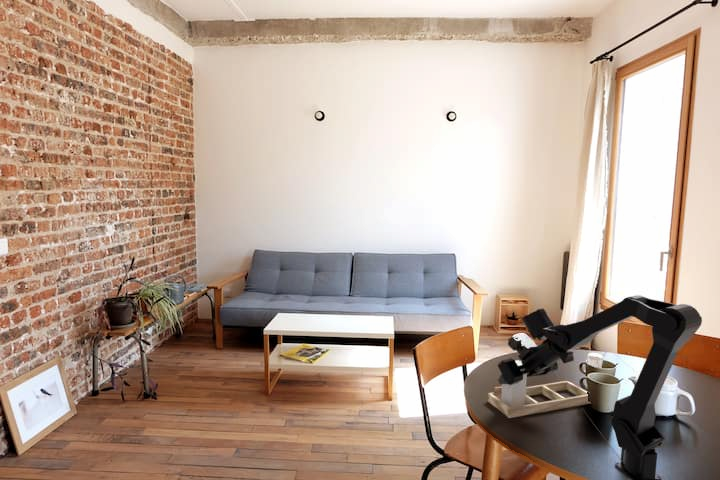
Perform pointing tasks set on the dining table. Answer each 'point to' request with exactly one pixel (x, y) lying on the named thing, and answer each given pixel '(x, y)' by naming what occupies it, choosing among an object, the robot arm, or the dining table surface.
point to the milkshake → (595, 359)
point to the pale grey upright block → (515, 392)
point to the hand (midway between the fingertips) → (510, 378)
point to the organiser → (535, 407)
